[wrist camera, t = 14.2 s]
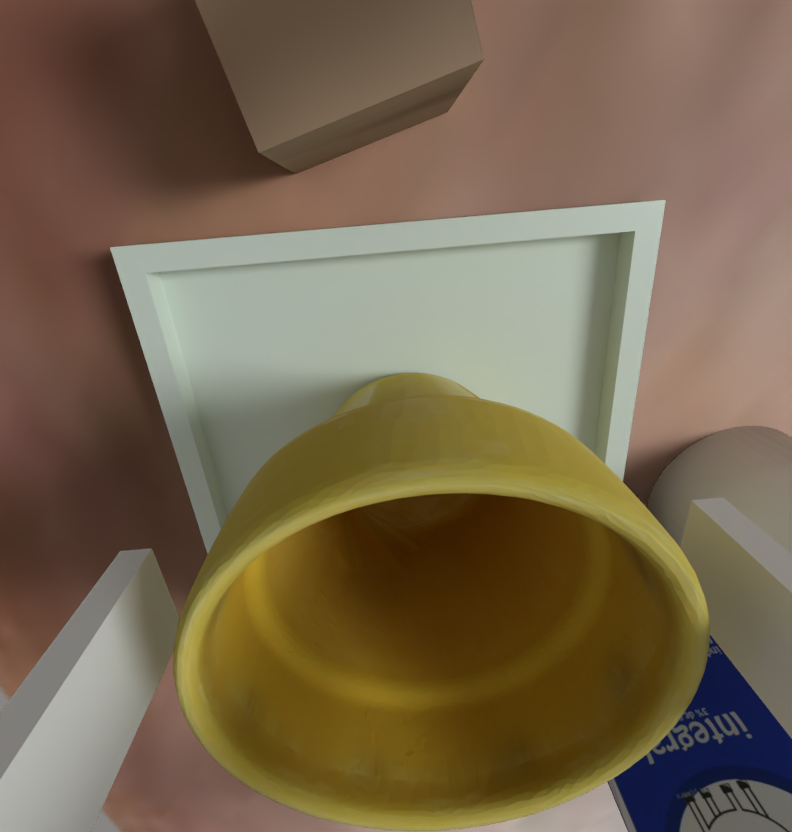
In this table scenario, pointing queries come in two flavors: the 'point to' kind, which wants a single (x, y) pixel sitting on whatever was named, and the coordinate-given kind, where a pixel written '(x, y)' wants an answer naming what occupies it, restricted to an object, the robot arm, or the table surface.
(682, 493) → the white rounded capsule
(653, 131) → the table surface
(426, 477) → the plant pot
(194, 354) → the tray
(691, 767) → the milk carton
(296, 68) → the walnut block
